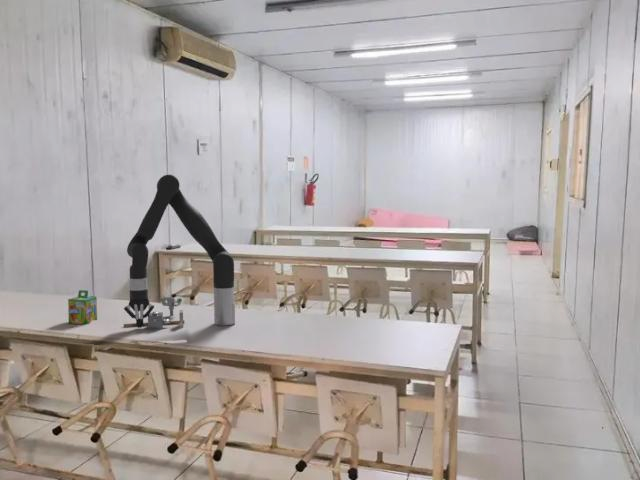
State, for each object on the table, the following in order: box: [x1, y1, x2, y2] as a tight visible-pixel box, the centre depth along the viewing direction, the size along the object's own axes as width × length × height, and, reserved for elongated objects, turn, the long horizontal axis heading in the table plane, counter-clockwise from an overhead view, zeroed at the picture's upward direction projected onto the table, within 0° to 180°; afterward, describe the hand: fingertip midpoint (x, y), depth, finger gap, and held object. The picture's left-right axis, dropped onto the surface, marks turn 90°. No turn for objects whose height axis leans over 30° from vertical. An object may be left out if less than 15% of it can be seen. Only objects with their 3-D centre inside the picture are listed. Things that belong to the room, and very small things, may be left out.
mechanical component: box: [160, 296, 183, 317], centre depth 254 cm, size 3×10×10 cm, turn 79°
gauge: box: [147, 310, 171, 331], centre depth 231 cm, size 9×8×7 cm
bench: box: [123, 309, 185, 329], centre depth 232 cm, size 26×10×8 cm, turn 104°
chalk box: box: [67, 289, 98, 325], centre depth 247 cm, size 9×9×15 cm
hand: (139, 327), depth 231 cm, fingers closed
